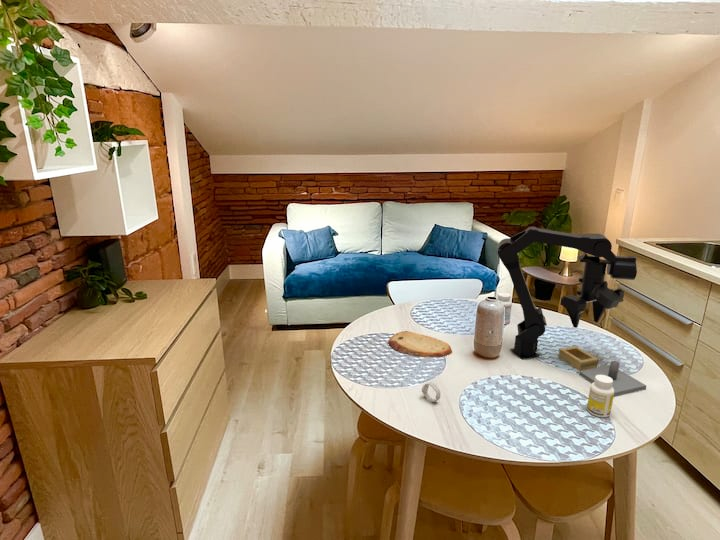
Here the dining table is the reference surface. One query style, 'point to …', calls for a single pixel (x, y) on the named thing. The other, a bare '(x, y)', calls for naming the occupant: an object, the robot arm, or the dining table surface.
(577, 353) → the wooden tray box
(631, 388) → the keeper plate
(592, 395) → the supplement bottle
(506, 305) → the pill bottle
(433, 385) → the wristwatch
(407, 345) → the bread slice
